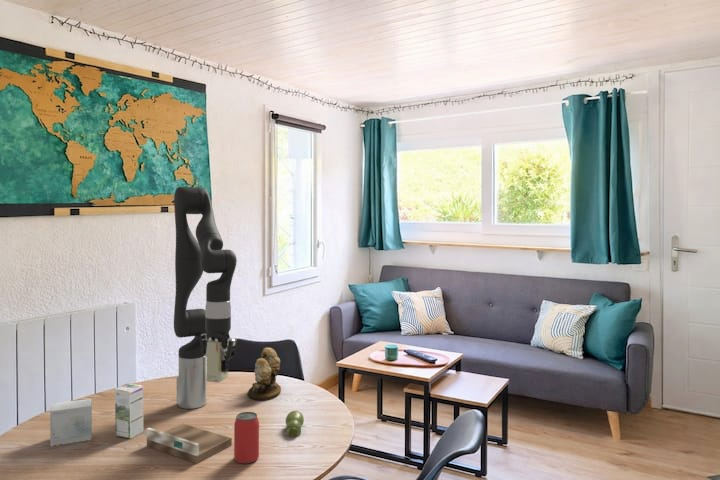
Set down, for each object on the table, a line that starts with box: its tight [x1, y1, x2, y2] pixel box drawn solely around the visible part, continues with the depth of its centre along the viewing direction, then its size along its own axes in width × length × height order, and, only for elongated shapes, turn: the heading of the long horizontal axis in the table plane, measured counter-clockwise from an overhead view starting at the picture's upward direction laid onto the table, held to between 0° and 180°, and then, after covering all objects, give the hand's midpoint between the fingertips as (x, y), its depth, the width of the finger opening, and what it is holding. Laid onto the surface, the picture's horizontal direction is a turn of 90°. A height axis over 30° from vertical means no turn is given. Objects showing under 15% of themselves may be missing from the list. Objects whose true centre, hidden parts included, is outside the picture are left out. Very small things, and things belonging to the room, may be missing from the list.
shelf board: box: [146, 423, 232, 464], centre depth 147 cm, size 20×13×5 cm, turn 60°
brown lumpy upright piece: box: [247, 347, 282, 402], centre depth 193 cm, size 18×12×17 cm, turn 2°
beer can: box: [233, 411, 260, 465], centre depth 140 cm, size 7×7×12 cm
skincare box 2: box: [206, 341, 229, 384], centre depth 158 cm, size 6×4×12 cm
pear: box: [285, 410, 305, 437], centre depth 159 cm, size 6×5×10 cm
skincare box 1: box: [49, 398, 93, 447], centre depth 150 cm, size 10×6×10 cm, turn 117°
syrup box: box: [114, 383, 145, 439], centre depth 154 cm, size 6×6×14 cm
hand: (217, 369), depth 158 cm, fingers closed on skincare box 2, 5 cm apart
